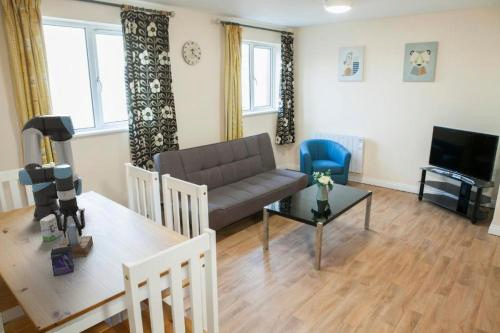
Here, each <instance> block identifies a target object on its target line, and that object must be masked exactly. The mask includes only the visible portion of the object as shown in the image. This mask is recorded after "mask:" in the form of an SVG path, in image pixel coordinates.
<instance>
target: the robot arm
mask: <svg viewBox="0 0 500 333" xmlns="http://www.w3.org/2000/svg"><path fill="white" fill-rule="evenodd" d="M75 134H76V132H75V127H74V124H73V121H72V118H71V116H70V115H69V114H62V113H59V114H49V115H46V114H45V115H36V116H33V117H31V118H30V119H29V120H27V121H26V122H25V124H23V127H22V129H21V134H20V136H21V139H22V140H23V169H20V170H18V175H17V176H18V181H19V183H20V185H21V186H31V192H32V195H33V196H32V197H33V202H34V206H35V207H34V211H33V212H34V213H33V219H34V221H37V222H40V220H41V219H43V218H45V217H47V216H49V215H51V214H54V215H55V217H56V221H57V226H58V230H59V231H62V234H63V237H64V238H66V239H67V244H70V242H69V236H68V230H67V226H68V220H69V217H70V218H72V220H73V222H74V224H75V225H76V227H77V231H76V234H77V241H78V243H80V242H81V236H83V230H85V228H86V219H85V211H86V209H85V208H80V207H79V206H78V200H77V197H79V196H80V195H82V192H83V185H82V184H83V183H82V177H81V176H79V174H77V173H76V171H75V170H76V168H75V163H74V162H75V161H74V157H73V149H72V142H71V140H72V139H73V135H74V136H75ZM45 137H46V138H47V137H48V138H49V140H50V141H51V142H53V146H54V148H53V149H54V152H55V153H54V154H55V158H56V164H57V165H54V166H43V154H42V140H43V138H45ZM77 213H79V217H78V214H77ZM61 216H62V217H63V218H62V217H61ZM62 219H63V220H62ZM62 221H63V222H62Z"/></svg>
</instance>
